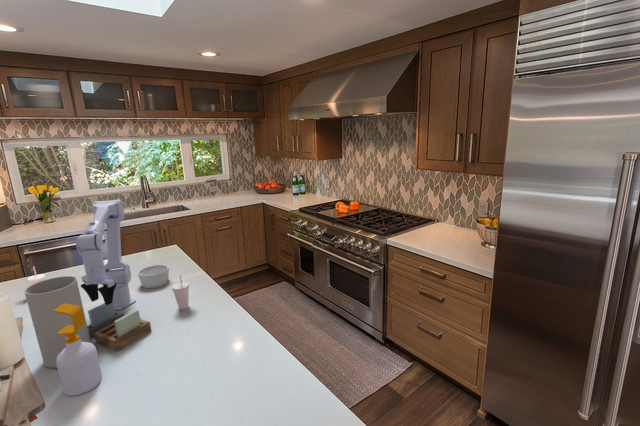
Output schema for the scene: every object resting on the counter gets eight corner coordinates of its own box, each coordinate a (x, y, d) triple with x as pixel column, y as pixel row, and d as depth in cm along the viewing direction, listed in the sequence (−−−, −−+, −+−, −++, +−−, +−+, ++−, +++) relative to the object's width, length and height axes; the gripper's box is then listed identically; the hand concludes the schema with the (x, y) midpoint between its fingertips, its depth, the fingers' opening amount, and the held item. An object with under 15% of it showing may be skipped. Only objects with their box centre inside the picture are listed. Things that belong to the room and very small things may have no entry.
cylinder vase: (52, 349, 110) (34, 280, 104) (96, 340, 115) (81, 273, 109) (37, 374, 99) (16, 298, 93) (86, 362, 103) (69, 289, 97)
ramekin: (176, 280, 160) (174, 267, 158) (150, 292, 149) (147, 277, 148) (160, 275, 167) (158, 262, 165) (134, 285, 156) (131, 272, 155)
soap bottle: (76, 374, 98) (58, 299, 92) (108, 371, 99) (92, 296, 93) (55, 398, 89) (33, 316, 84) (91, 394, 90) (71, 313, 84)
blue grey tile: (92, 333, 119) (87, 310, 117) (114, 321, 126) (110, 300, 124) (95, 334, 118) (90, 311, 116) (116, 322, 125) (112, 301, 123)
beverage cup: (53, 292, 153) (46, 263, 150) (41, 298, 147) (33, 269, 144) (41, 292, 153) (33, 263, 150) (28, 298, 148) (20, 269, 144)
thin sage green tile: (118, 345, 111) (113, 321, 109) (139, 332, 118) (135, 309, 116) (121, 346, 111) (116, 322, 109) (142, 333, 118) (138, 310, 116)
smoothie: (186, 311, 131) (181, 279, 128) (171, 310, 132) (166, 278, 129) (195, 303, 137) (190, 272, 134) (181, 302, 138) (176, 271, 135)
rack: (95, 342, 113) (93, 333, 112) (129, 323, 124) (127, 315, 123) (118, 351, 108) (116, 341, 107) (151, 330, 119) (149, 321, 118)
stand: (83, 335, 117) (82, 328, 117) (117, 318, 128) (115, 311, 128) (91, 338, 116) (89, 331, 115) (124, 320, 127) (123, 313, 126)
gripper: (69, 268, 116) (77, 303, 119) (97, 274, 110) (104, 310, 113) (89, 261, 122) (97, 295, 125) (116, 266, 117) (123, 301, 120)
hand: (102, 301), depth 120 cm, fingers open, 7 cm apart
